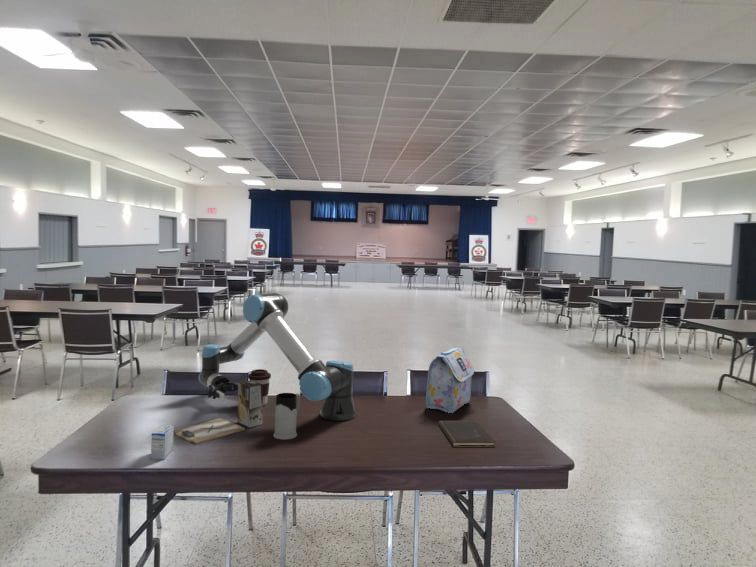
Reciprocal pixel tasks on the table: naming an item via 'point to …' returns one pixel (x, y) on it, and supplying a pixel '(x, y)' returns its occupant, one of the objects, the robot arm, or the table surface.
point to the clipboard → (208, 430)
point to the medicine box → (162, 442)
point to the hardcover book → (465, 433)
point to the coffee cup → (261, 381)
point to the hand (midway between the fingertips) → (239, 395)
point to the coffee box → (250, 403)
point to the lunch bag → (449, 381)
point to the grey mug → (286, 415)
